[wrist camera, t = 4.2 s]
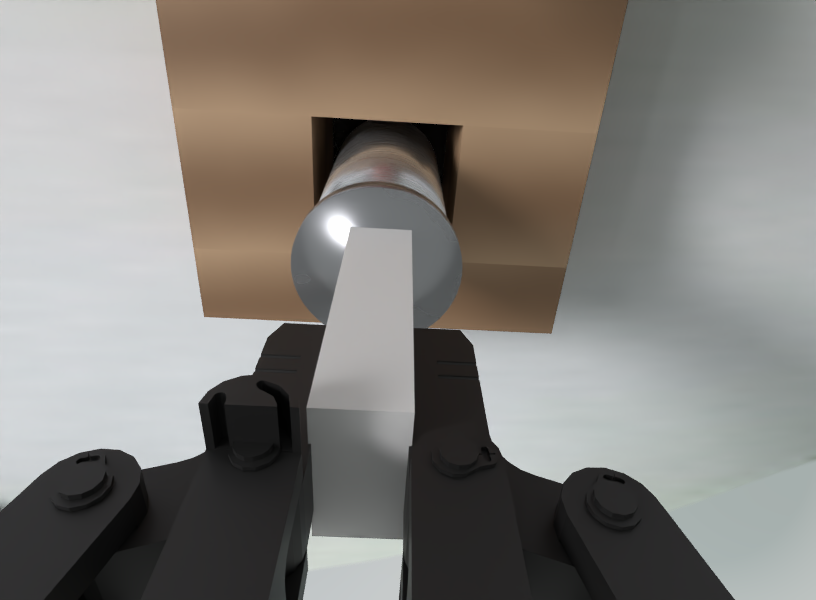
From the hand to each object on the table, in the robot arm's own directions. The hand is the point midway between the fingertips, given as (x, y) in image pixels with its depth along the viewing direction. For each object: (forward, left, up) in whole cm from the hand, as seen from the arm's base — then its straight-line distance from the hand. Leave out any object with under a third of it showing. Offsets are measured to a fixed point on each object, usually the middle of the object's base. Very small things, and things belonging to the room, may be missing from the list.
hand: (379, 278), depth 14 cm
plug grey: (0, 0, -9) cm, 9 cm away
